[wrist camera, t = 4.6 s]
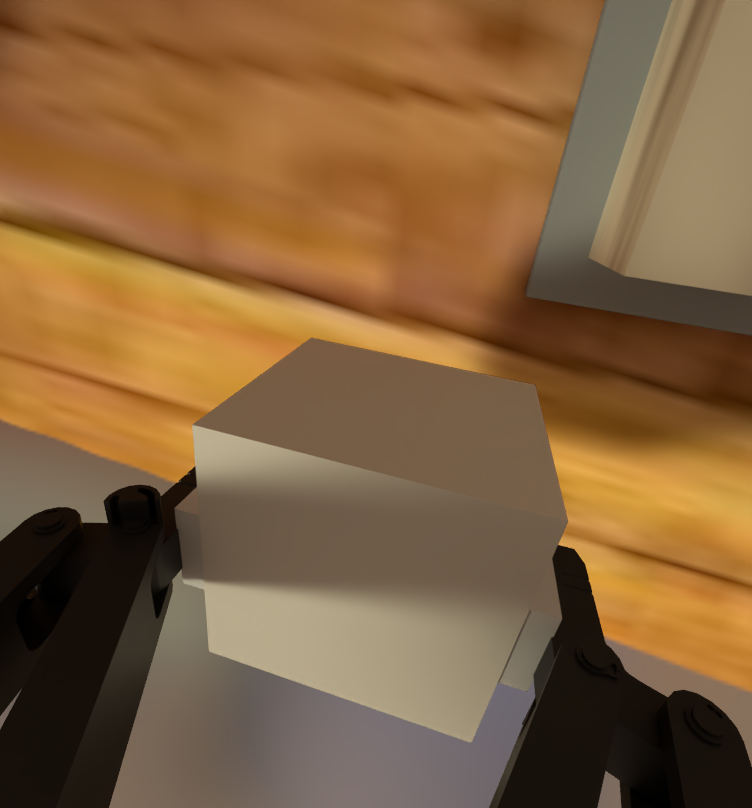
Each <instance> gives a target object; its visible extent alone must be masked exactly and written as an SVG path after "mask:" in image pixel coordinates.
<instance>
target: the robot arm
mask: <svg viewBox="0 0 752 808" xmlns="http://www.w3.org/2000/svg"><path fill="white" fill-rule="evenodd" d="M104 506H105V510H106V515H107V520H108V523H82V521H81V517H80V514H79V513H78V512H77V511H76V510H74V509H71V508H68V507H63V508H62V507H57V508H52V509H47V510H44V511H42V512H39V513H37V514H34V515H33V516H31V517H30V518H28V519H27V520H25V521H24V522H23V523H21V524H20V525H19V526H18V527H17V528H16V529H14V530H13V531H12V532H11V533H10V534H9V535H7V536H6V537H5V538H4V539H3V540H1V541H0V716H1V714H2V713H3V712H4V711H5V709H6V708H7V707H8V705H9V704H10V703H11V702H12V700H13V699H14V698H15V696H16V695H17V694H18V693H19V691H20V690H21V689H22V690H21V692H20V694H19V696H18V698H17V699H16V701H15V703H14V705H13V707H12V709H11V710H10V712H9V714H8V716H7V718H6V720H5V722H4V724H3V726H2V727H1V729H0V808H109V805H110V802H111V799H112V795H113V792H114V788H115V785H116V782H117V778H118V775H119V771H120V768H121V765H122V761H123V758H124V754H125V751H126V747H127V744H128V741H129V737H130V734H131V731H132V727H133V724H134V720H135V717H136V713H137V710H138V707H139V703H140V700H141V696H142V693H143V690H144V686H145V683H146V680H147V676H148V673H149V669H150V666H151V662H152V659H153V656H154V652H155V649H156V646H157V642H158V639H159V635H160V632H161V629H162V625H163V622H164V618H165V615H166V612H167V608H168V605H169V601H170V598H171V595H172V588H173V587H172V586H173V584H172V579H173V578H174V577H175V576H176V575H177V573H178V572H179V571H180V570H181V569H182V577H183V583H185V584H188V585H191V586H194V587H197V588H201V589H204V575H203V562H202V548H201V534H200V521H199V507H198V494H197V480H196V466H195V467H194V468H193V469H192V470H191V471H189V472H188V474H187V475H185V476H184V477H183V478H181V479H180V480H179V482H178V483H176V484H175V485H174V486H172V487H171V488H170V489H169V490H168V491H167V492H166V493H165V494H164V495H162V496H160V493H159V492H158V490H157V489H155V488H153V487H151V486H147V485H134V486H128V487H125V488H122V489H119V490H117V491H115V492H113V493H112V494H110V495H109V496H108V497H107V498H106V499H105V500H104ZM34 588H35V589H34ZM33 589H34V590H33ZM204 590H205V589H204ZM533 679H534V686H535V699H534V701H533V703H532V705H531V707H530V709H529V711H528V713H527V715H526V717H525V719H524V721H523V723H522V724H523V726H522V729H521V732H520V734H519V736H518V739H517V741H516V744H515V746H514V749H513V751H512V753H511V756H510V758H509V761H508V763H507V766H506V768H505V770H504V773H503V775H502V778H501V780H500V782H499V785H498V787H497V790H496V792H495V795H494V797H493V799H492V802H491V805H490V807H489V808H597V806H598V802H599V797H600V793H601V788H602V784H603V779H604V774H605V771H607V772H608V773H610V774H611V775H613V776H614V777H616V778H617V779H619V780H620V792H621V807H622V808H752V767H751V763H750V760H749V757H748V754H747V750H746V747H745V744H744V741H743V740H742V737H741V735H740V733H739V731H738V729H737V727H736V726H735V725H734V724H733V722H732V721H731V720H730V719H729V717H728V716H727V715H726V714H725V713H724V712H723V711H722V710H721V709H720V708H718V707H717V706H716V705H715V704H714V703H713V702H711V701H709V700H708V699H706V698H704V697H702V696H701V695H699V694H697V693H694V692H690V691H686V690H680V691H674V692H673V693H672V694H671V695H670V696H669V697H666V696H664V695H663V694H661V693H659V692H657V691H656V690H654V689H652V688H651V687H649V686H647V685H645V684H644V683H642V682H640V681H639V680H637V679H636V678H634V677H633V676H631V675H630V674H628V672H626V671H625V669H624V667H623V665H622V663H621V661H620V659H619V658H618V656H617V655H616V654H615V653H614V651H613V650H612V649H611V648H610V647H609V646H607V645H606V643H605V640H604V636H603V632H602V628H601V624H600V620H599V617H598V613H597V609H596V605H595V601H594V597H593V595H592V589H591V586H590V582H589V578H588V574H587V570H586V566H585V564H584V562H583V561H582V559H581V558H580V557H579V555H578V554H577V552H576V551H575V550H574V549H572V548H568V547H564V546H560V545H558V546H557V548H556V550H555V553H554V555H553V557H552V560H551V562H550V564H549V566H548V569H547V571H546V573H545V576H544V578H543V580H542V582H541V585H540V587H539V589H538V591H537V594H536V596H535V598H534V601H533V603H532V605H531V607H530V610H529V612H528V614H527V617H526V619H525V621H524V623H523V626H522V628H521V630H520V633H519V635H518V637H517V639H516V642H515V644H514V646H513V649H512V651H511V653H510V655H509V658H508V660H507V662H506V665H505V667H504V669H503V671H502V674H501V676H500V678H499V680H498V683H502V684H505V685H508V686H511V687H514V688H517V689H521V690H524V691H528V689H529V687H530V685H531V683H532V681H533Z"/></svg>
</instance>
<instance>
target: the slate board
mask: <svg viewBox="0 0 752 808" xmlns="http://www.w3.org/2000/svg"><path fill="white" fill-rule="evenodd" d="M671 2H672V0H605V2H604V6H603V10H602V13H601V17H600V20H599V24H598V28H597V31H596V35H595V39H594V42H593V46H592V50H591V53H590V57H589V61H588V64H587V68H586V72H585V75H584V79H583V82H582V86H581V90H580V93H579V97H578V101H577V104H576V108H575V112H574V115H573V119H572V123H571V126H570V130H569V134H568V137H567V141H566V144H565V148H564V152H563V155H562V159H561V163H560V166H559V170H558V174H557V177H556V181H555V185H554V188H553V192H552V196H551V199H550V203H549V206H548V210H547V214H546V217H545V221H544V225H543V228H542V232H541V236H540V239H539V243H538V247H537V250H536V254H535V258H534V261H533V265H532V268H531V272H530V276H529V279H528V283H527V287H526V290H525V294H526V297H531V298H537V299H542V300H548V301H554V302H560V303H566V304H571V305H577V306H583V307H589V308H595V309H600V310H606V311H612V312H618V313H624V314H630V315H635V316H641V317H647V318H653V319H659V320H664V321H670V322H676V323H682V324H688V325H693V326H699V327H705V328H711V329H717V330H722V331H728V332H734V333H740V334H746V335H752V296H749V295H742V294H736V293H730V292H723V291H717V290H710V289H704V288H698V287H691V286H685V285H679V284H672V283H666V282H659V281H653V280H647V279H640V278H634V277H628V276H623V275H621V274H619V273H617V272H615V271H613V270H611V269H610V268H608V267H606V266H604V265H602V264H600V263H598V262H596V261H594V260H592V259H590V258H588V256H589V253H590V250H591V247H592V244H593V241H594V238H595V235H596V232H597V229H598V226H599V222H600V219H601V216H602V213H603V210H604V207H605V204H606V201H607V198H608V195H609V192H610V189H611V186H612V183H613V180H614V177H615V174H616V170H617V167H618V164H619V161H620V158H621V155H622V152H623V149H624V146H625V143H626V140H627V137H628V134H629V131H630V128H631V125H632V122H633V118H634V115H635V112H636V109H637V106H638V103H639V100H640V97H641V94H642V91H643V88H644V85H645V82H646V79H647V76H648V73H649V70H650V66H651V63H652V60H653V57H654V54H655V51H656V48H657V45H658V42H659V39H660V36H661V33H662V30H663V27H664V24H665V21H666V18H667V14H668V11H669V8H670V5H671Z"/></svg>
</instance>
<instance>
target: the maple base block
mask: <svg viewBox="0 0 752 808" xmlns="http://www.w3.org/2000/svg"><path fill="white" fill-rule="evenodd" d="M588 258H590V259H592V260H594V261H596V262H598V263H600V264H602V265H604V266H606V267H608V268H610V269H611V270H613V271H615V272H617V273H619V274H621V275H623V276H628V277H634V278H640V279H647V280H653V281H659V282H666V283H672V284H679V285H685V286H691V287H698V288H704V289H710V290H717V291H723V292H730V293H736V294H742V295H749V296H752V0H672V2H671V5H670V8H669V11H668V14H667V18H666V21H665V24H664V27H663V30H662V33H661V36H660V39H659V42H658V45H657V48H656V51H655V54H654V57H653V60H652V63H651V66H650V70H649V73H648V76H647V79H646V82H645V85H644V88H643V91H642V94H641V97H640V100H639V103H638V106H637V109H636V112H635V115H634V118H633V122H632V125H631V128H630V131H629V134H628V137H627V140H626V143H625V146H624V149H623V152H622V155H621V158H620V161H619V164H618V167H617V170H616V174H615V177H614V180H613V183H612V186H611V189H610V192H609V195H608V198H607V201H606V204H605V207H604V210H603V213H602V216H601V219H600V222H599V226H598V229H597V232H596V235H595V238H594V241H593V244H592V247H591V250H590V253H589V256H588Z"/></svg>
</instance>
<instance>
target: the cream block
mask: <svg viewBox="0 0 752 808" xmlns="http://www.w3.org/2000/svg"><path fill="white" fill-rule="evenodd" d="M192 426H193V439H194V453H195V466H196V480H197V494H198V507H199V521H200V534H201V548H202V562H203V575H204V589H205V602H206V614H207V630H208V643H209V651H210V652H212V653H215V654H218V655H221V656H224V657H227V658H230V659H233V660H235V661H238V662H241V663H244V664H247V665H250V666H253V667H255V668H258V669H261V670H264V671H267V672H270V673H273V674H275V675H278V676H282V677H284V678H287V679H290V680H293V681H295V682H299V683H301V684H304V685H307V686H310V687H313V688H316V689H319V690H321V691H324V692H327V693H330V694H333V695H336V696H338V697H341V698H345V699H347V700H350V701H353V702H356V703H359V704H362V705H364V706H367V707H370V708H373V709H376V710H379V711H382V712H384V713H387V714H390V715H393V716H396V717H399V718H401V719H405V720H407V721H410V722H413V723H416V724H419V725H422V726H424V727H427V728H430V729H433V730H436V731H439V732H442V733H444V734H447V735H450V736H453V737H456V738H459V739H462V740H465V741H468V742H470V743H471V742H472V740H473V737H474V735H475V733H476V731H477V728H478V726H479V724H480V721H481V719H482V717H483V715H484V712H485V710H486V708H487V705H488V703H489V701H490V698H491V696H492V694H493V692H494V690H495V687H496V685H497V683H498V680H499V678H500V676H501V674H502V671H503V669H504V667H505V665H506V662H507V660H508V658H509V655H510V653H511V651H512V649H513V646H514V644H515V642H516V639H517V637H518V635H519V633H520V630H521V628H522V626H523V623H524V621H525V619H526V617H527V614H528V612H529V610H530V607H531V605H532V603H533V601H534V598H535V596H536V594H537V591H538V589H539V587H540V585H541V582H542V580H543V578H544V576H545V573H546V571H547V569H548V566H549V564H550V562H551V560H552V557H553V555H554V553H555V550H556V548H557V546H558V544H559V541H560V539H561V537H562V534H563V532H564V530H565V528H566V525H567V523H568V519H567V515H566V510H565V506H564V502H563V498H562V494H561V490H560V486H559V481H558V477H557V473H556V469H555V465H554V461H553V457H552V452H551V448H550V444H549V440H548V436H547V432H546V428H545V423H544V419H543V415H542V411H541V407H540V403H539V399H538V394H537V390H536V386H535V385H534V384H529V383H524V382H519V381H515V380H510V379H505V378H500V377H496V376H491V375H486V374H481V373H477V372H472V371H467V370H462V369H458V368H453V367H448V366H443V365H439V364H434V363H429V362H424V361H420V360H415V359H410V358H405V357H401V356H396V355H391V354H386V353H382V352H377V351H372V350H367V349H363V348H358V347H353V346H348V345H344V344H339V343H334V342H329V341H325V340H320V339H315V338H310V339H309V340H307V341H306V342H305V343H303V344H302V345H301V346H299V347H298V348H297V349H295V350H294V351H292V352H291V353H290V354H288V355H287V356H286V357H284V358H283V359H282V360H280V361H279V362H277V363H276V364H275V365H273V366H272V367H271V368H269V369H268V370H267V371H265V372H264V373H262V374H261V375H260V376H258V377H257V378H256V379H254V380H253V381H252V382H250V383H249V384H247V385H246V386H245V387H243V388H242V389H241V390H239V391H238V392H237V393H235V394H234V395H232V396H231V397H230V398H228V399H227V400H226V401H224V402H223V403H222V404H220V405H219V406H217V407H216V408H215V409H213V410H212V411H211V412H209V413H208V414H207V415H205V416H204V417H202V418H201V419H200V420H198V421H197V422H196V423H194V424H193V425H192Z"/></svg>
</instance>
